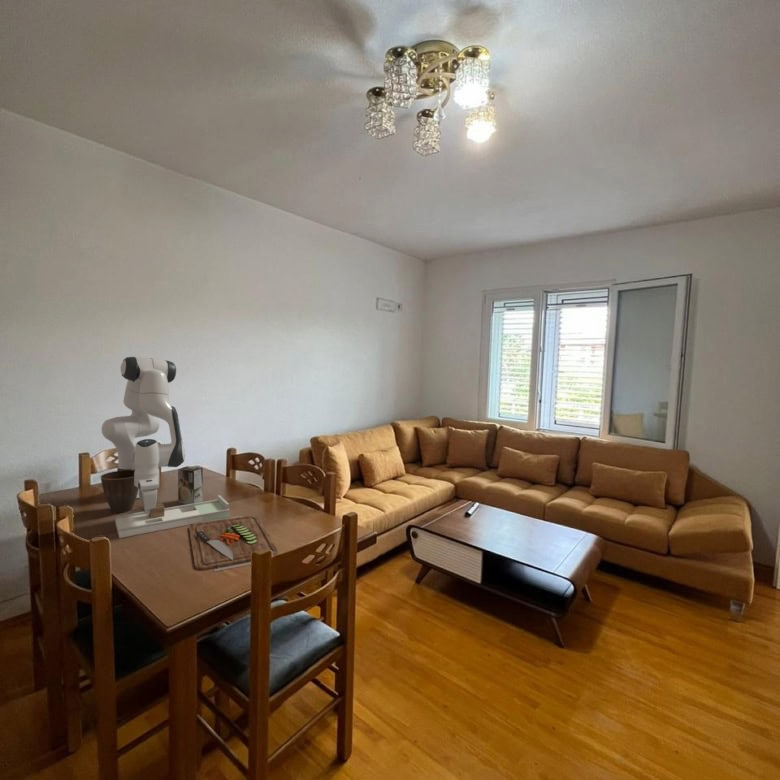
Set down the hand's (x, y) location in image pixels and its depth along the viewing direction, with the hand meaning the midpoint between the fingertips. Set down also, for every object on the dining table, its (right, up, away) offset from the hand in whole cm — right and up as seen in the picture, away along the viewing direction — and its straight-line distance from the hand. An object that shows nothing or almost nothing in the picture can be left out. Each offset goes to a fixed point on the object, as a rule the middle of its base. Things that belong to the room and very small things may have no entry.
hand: (147, 513), depth 170 cm
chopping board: (+39, -7, -13) cm, 42 cm away
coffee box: (+5, -3, +26) cm, 27 cm away
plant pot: (-19, -3, +13) cm, 23 cm away
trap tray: (+9, -4, +4) cm, 11 cm away
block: (+3, -2, +2) cm, 4 cm away
